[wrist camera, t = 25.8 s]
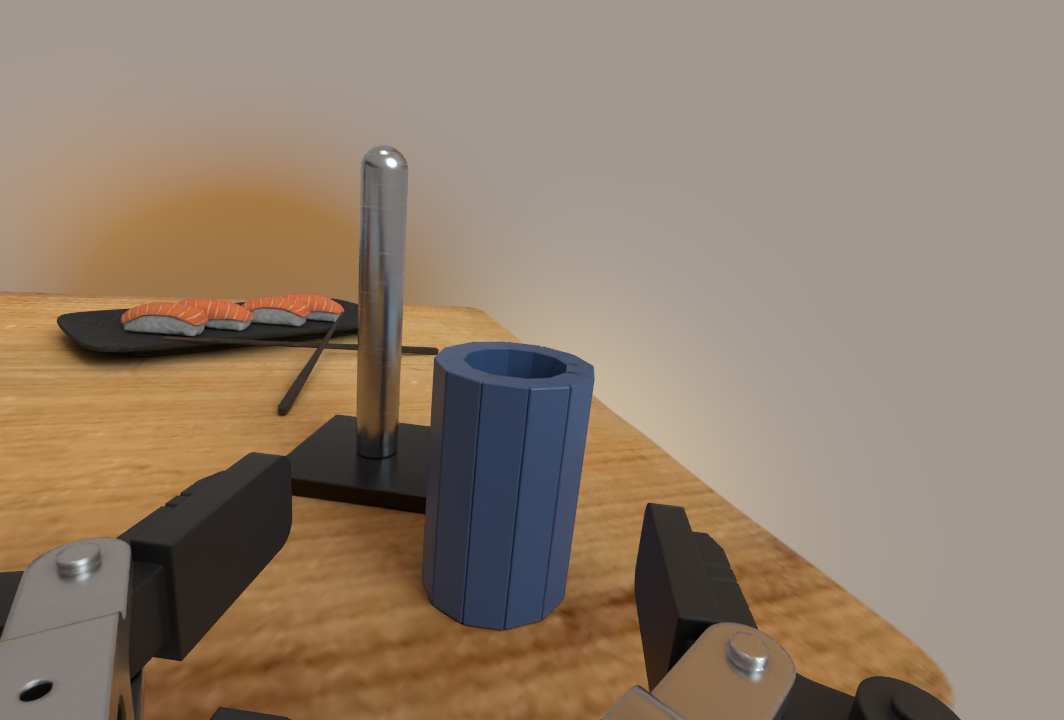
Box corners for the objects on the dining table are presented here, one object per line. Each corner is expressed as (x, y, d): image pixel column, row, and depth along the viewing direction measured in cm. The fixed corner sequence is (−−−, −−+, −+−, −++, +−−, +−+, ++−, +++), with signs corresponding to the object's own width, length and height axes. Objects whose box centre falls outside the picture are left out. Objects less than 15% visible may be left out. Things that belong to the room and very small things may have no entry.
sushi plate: (336, 311, 73) (336, 282, 72) (496, 370, 55) (499, 332, 54) (50, 333, 52) (44, 292, 51) (155, 443, 33) (150, 382, 32)
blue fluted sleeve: (405, 616, 22) (416, 374, 19) (443, 528, 28) (456, 335, 25) (562, 640, 21) (596, 396, 19) (566, 546, 27) (592, 351, 25)
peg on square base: (263, 491, 29) (251, 123, 24) (336, 427, 38) (338, 146, 33) (429, 514, 29) (451, 143, 24) (464, 444, 37) (485, 161, 33)
